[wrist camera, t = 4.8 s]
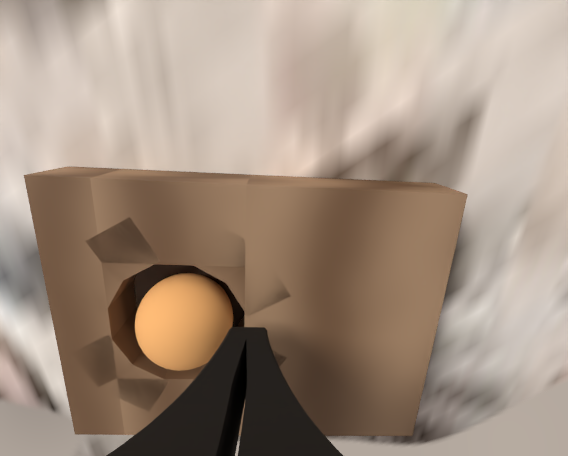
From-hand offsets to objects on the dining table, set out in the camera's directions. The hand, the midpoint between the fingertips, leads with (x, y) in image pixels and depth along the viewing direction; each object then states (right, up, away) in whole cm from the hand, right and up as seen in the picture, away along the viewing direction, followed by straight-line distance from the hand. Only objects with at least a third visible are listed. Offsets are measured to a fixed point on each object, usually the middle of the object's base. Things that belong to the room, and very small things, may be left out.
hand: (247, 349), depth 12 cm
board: (0, +1, +4) cm, 4 cm away
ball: (-3, +1, +2) cm, 3 cm away
